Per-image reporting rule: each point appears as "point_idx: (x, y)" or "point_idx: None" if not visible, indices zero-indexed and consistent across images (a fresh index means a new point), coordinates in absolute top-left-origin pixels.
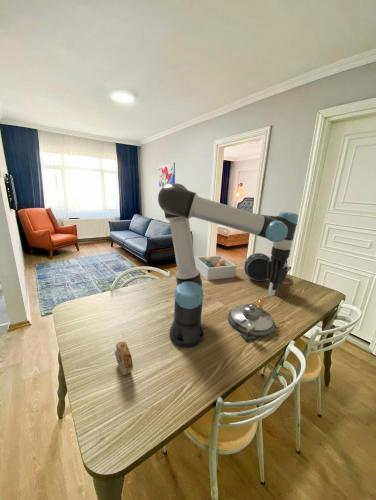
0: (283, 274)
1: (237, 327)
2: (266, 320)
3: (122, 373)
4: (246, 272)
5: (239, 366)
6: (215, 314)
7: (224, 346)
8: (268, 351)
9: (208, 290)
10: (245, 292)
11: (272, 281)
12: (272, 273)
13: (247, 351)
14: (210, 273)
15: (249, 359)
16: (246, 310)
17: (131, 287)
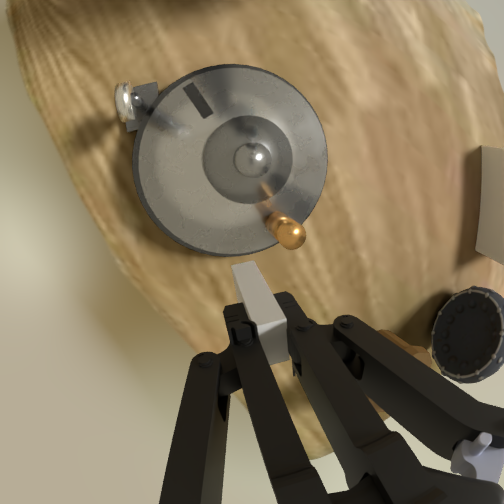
0: (172, 483)
1: (186, 75)
2: (194, 214)
3: None
4: (475, 288)
5: (43, 50)
6: (302, 44)
7: (119, 19)
8: (71, 157)
9: (440, 109)
10: (410, 242)
11: (288, 340)
12: (324, 391)
13: (81, 84)
14: (499, 159)
15: (54, 83)
16: (233, 118)
17: None
